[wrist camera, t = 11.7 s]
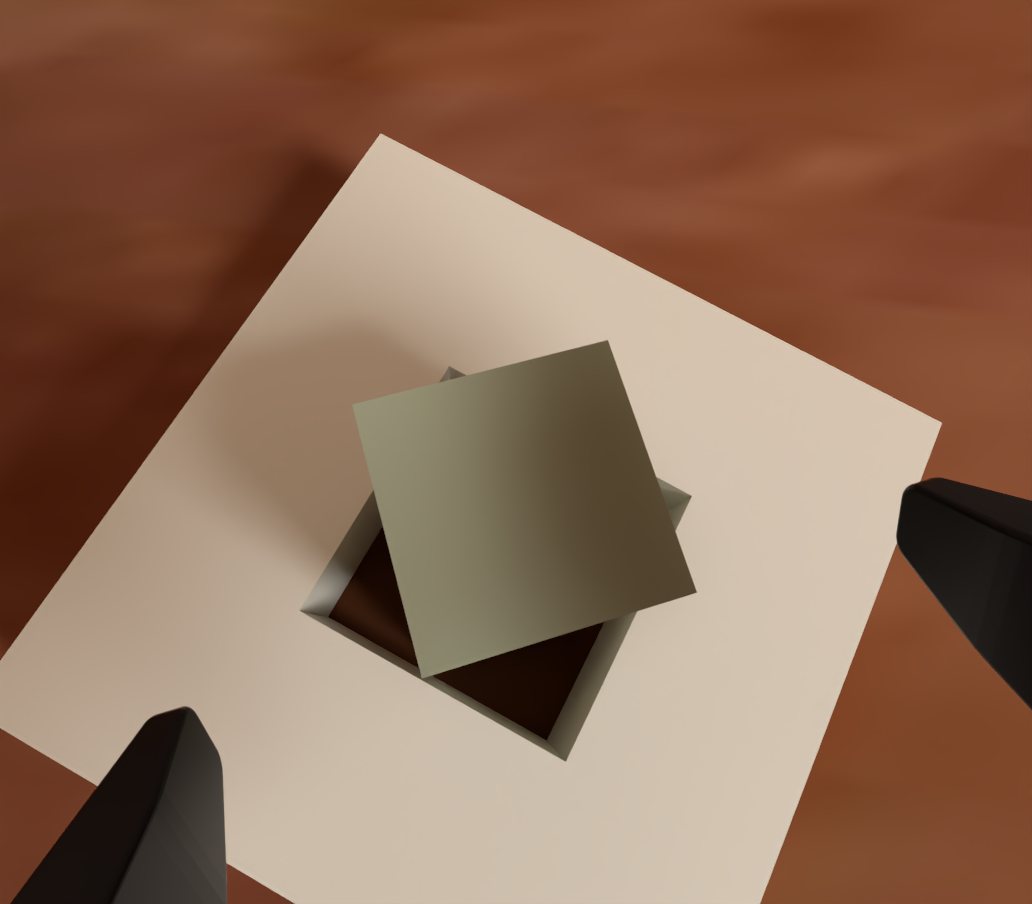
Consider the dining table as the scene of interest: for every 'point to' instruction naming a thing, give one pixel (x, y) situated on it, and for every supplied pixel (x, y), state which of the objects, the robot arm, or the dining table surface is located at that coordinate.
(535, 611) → the peg
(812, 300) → the dining table surface
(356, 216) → the socket block
